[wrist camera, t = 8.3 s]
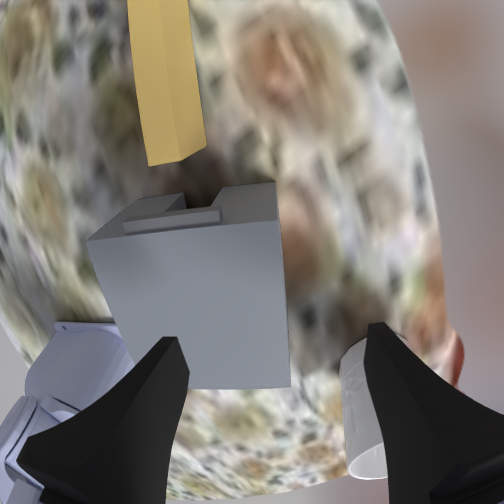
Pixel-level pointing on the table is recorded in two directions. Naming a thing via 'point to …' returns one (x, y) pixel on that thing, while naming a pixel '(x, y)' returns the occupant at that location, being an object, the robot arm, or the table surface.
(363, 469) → the white cup
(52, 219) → the table surface
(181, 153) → the yellow rectangular block
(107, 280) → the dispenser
